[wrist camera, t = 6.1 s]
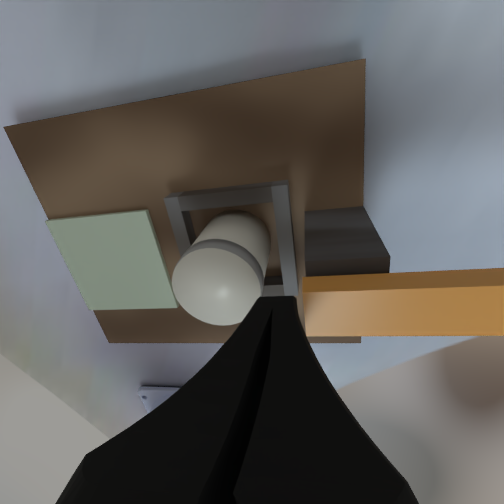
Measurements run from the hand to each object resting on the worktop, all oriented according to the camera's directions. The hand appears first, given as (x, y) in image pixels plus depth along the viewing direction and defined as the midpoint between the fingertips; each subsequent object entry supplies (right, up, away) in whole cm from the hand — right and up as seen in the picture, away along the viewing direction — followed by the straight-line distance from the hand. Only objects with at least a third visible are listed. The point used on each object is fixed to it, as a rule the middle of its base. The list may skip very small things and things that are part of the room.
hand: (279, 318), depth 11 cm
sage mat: (-10, +2, +9) cm, 13 cm away
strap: (+7, +1, 0) cm, 7 cm away
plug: (-2, +3, +7) cm, 8 cm away
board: (-4, +3, +8) cm, 10 cm away
